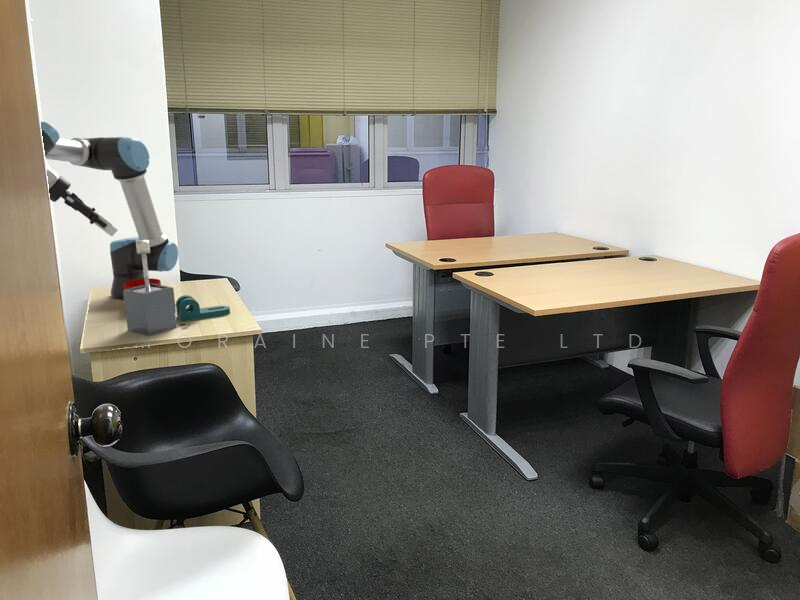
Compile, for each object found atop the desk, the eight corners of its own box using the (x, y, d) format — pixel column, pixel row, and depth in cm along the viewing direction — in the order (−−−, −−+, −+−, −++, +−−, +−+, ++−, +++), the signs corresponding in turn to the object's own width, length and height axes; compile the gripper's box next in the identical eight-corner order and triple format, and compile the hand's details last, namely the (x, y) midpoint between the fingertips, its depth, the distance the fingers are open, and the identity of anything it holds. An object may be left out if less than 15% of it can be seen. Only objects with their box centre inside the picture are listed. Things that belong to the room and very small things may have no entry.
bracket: (181, 322, 220) (178, 300, 218) (177, 317, 226) (175, 296, 224) (232, 314, 229) (230, 293, 227) (227, 310, 235) (225, 290, 233)
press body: (164, 319, 223) (160, 281, 219) (185, 324, 217) (181, 285, 214) (127, 330, 211) (122, 289, 207) (148, 335, 205) (143, 294, 202)
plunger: (151, 287, 215) (145, 237, 211) (167, 291, 211) (162, 239, 206) (128, 293, 208) (122, 241, 204) (145, 296, 204) (139, 243, 199)
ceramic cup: (160, 314, 230) (157, 287, 227) (119, 311, 233) (115, 285, 231) (179, 304, 242) (176, 279, 240) (139, 302, 245) (136, 277, 243)
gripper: (41, 190, 198) (99, 234, 209) (43, 197, 177) (108, 245, 188) (58, 172, 199) (115, 217, 210) (62, 177, 178) (125, 226, 189)
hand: (112, 230), depth 199 cm, fingers open, 13 cm apart
